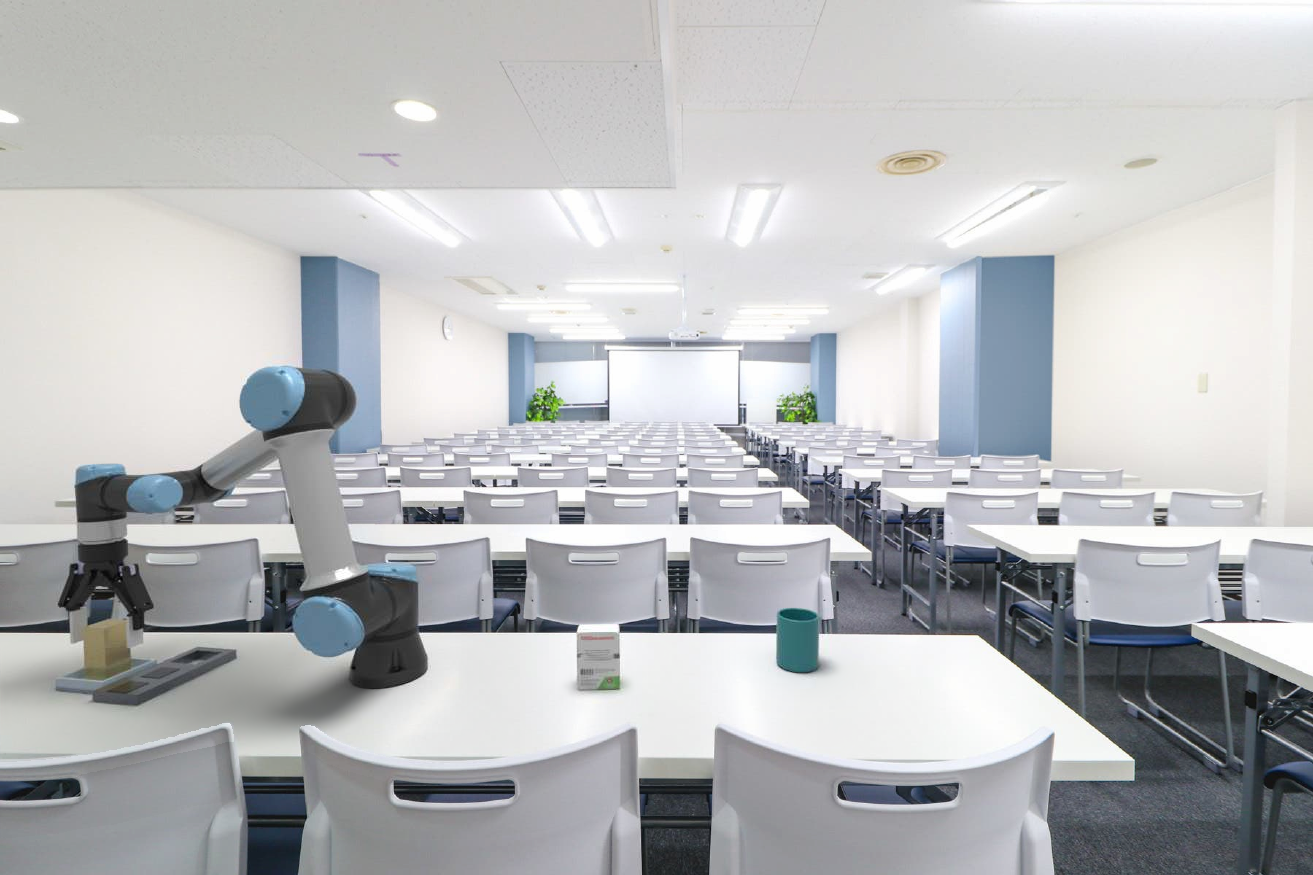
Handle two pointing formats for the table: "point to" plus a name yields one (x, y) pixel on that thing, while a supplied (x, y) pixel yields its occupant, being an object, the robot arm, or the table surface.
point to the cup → (797, 639)
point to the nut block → (106, 649)
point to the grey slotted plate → (163, 676)
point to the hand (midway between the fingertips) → (107, 643)
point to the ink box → (598, 657)
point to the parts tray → (81, 685)
